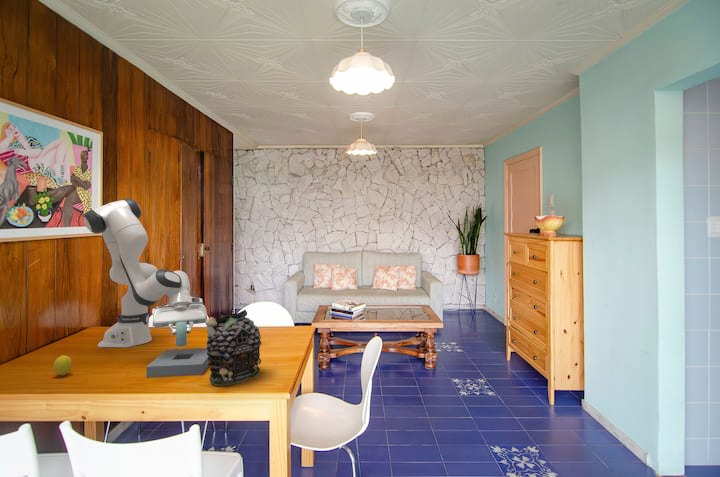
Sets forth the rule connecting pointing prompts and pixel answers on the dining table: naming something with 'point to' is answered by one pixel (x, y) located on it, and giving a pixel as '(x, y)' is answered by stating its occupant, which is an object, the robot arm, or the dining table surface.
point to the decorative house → (232, 348)
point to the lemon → (62, 365)
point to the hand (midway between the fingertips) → (181, 333)
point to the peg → (181, 334)
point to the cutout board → (179, 363)
